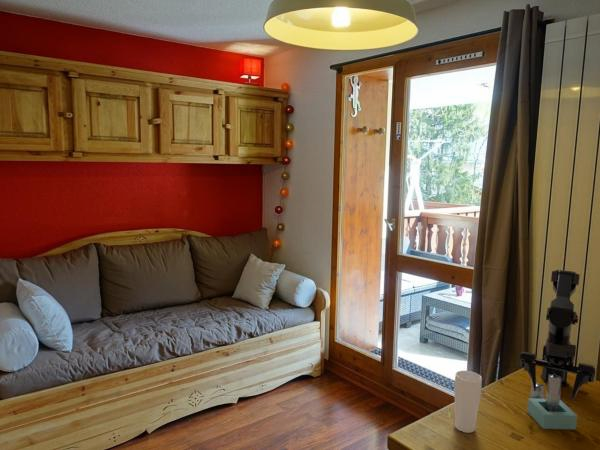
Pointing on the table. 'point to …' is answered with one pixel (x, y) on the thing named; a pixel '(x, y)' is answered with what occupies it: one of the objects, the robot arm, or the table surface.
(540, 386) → the short pin
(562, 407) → the hole block
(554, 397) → the tall pin
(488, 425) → the table surface
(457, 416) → the drinking glass
